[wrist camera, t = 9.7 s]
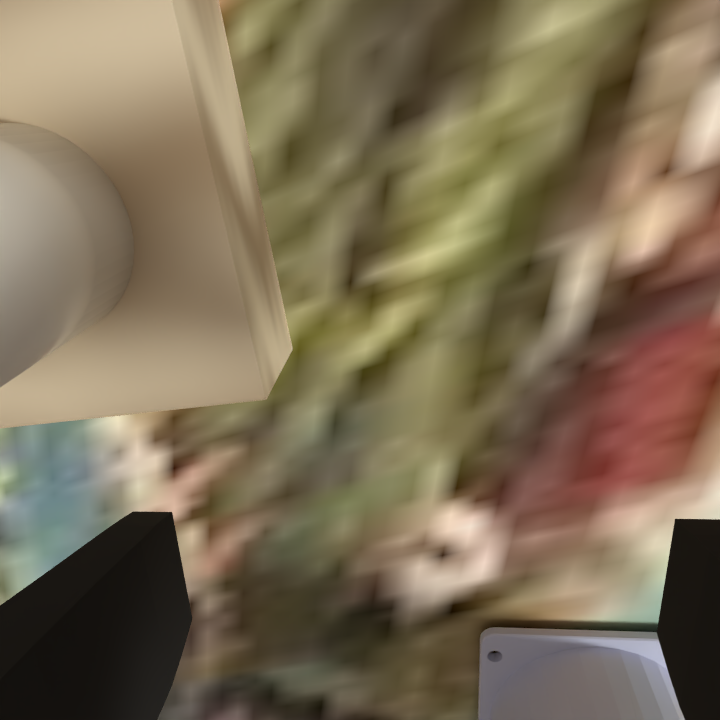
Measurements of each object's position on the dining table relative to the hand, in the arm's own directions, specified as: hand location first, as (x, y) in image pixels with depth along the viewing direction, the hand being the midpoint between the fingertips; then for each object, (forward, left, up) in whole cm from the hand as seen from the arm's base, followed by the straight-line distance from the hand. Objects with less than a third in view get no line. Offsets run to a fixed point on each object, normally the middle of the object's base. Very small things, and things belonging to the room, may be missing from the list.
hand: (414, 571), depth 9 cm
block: (+4, +9, -11) cm, 15 cm away
